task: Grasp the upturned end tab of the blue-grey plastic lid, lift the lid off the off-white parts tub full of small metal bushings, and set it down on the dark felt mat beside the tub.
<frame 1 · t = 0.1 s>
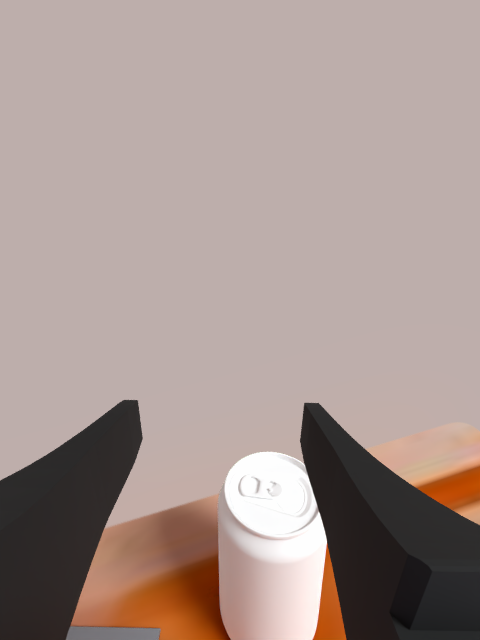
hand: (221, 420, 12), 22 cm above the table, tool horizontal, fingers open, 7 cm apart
beverage can: (267, 603, 23), on the table
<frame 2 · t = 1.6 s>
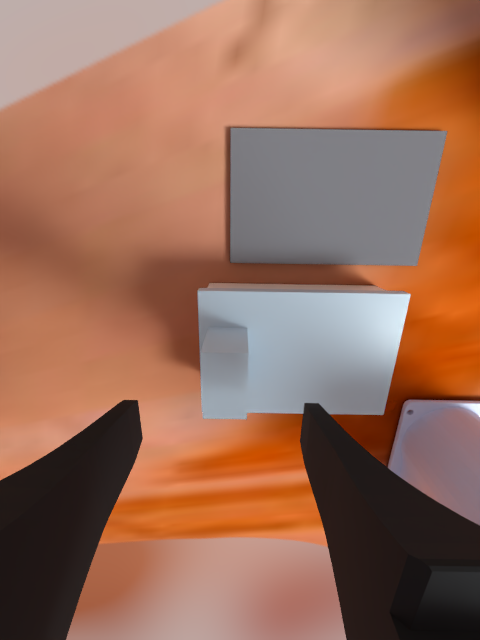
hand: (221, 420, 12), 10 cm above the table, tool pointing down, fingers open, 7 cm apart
mat: (329, 202, 18), on the table
tub: (288, 335, 21), on the table
lid: (295, 352, 18), point 3 cm above the table, touching tub
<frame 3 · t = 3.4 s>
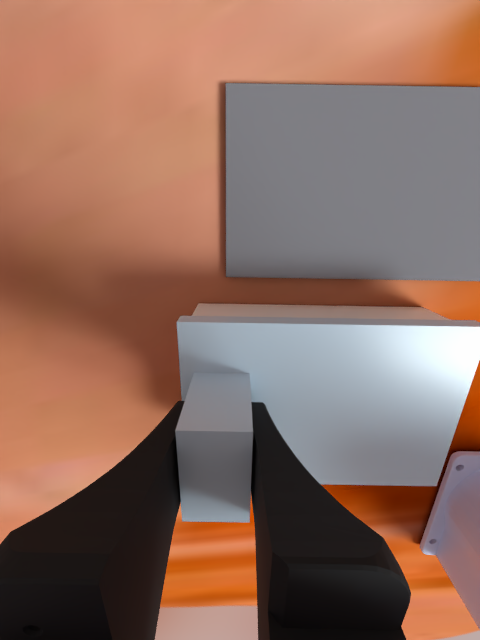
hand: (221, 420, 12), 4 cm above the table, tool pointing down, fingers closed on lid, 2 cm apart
mat: (364, 193, 13), on the table
tub: (303, 371, 16), on the table
lid: (316, 402, 13), point 3 cm above the table, touching gripper, tub
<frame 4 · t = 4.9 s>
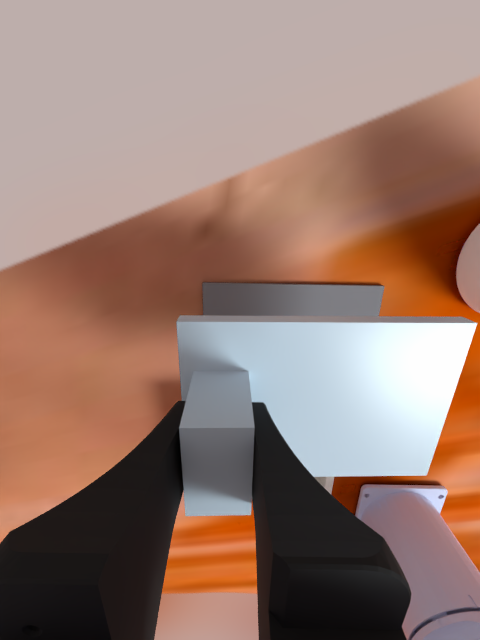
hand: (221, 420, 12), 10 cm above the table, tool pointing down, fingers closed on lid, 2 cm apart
mat: (288, 334, 21), on the table
lid: (312, 398, 14), point 8 cm above the table, touching gripper
when the fingers open (3 cm above the table, at t = 6.8 s): lid stays where it is, resting on mat.
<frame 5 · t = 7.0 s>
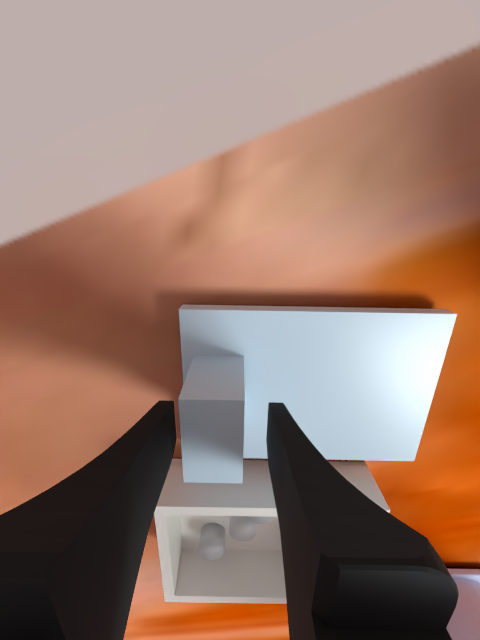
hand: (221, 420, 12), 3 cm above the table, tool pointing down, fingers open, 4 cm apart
tub: (263, 507, 18), on the table
lid: (305, 384, 15), resting on mat
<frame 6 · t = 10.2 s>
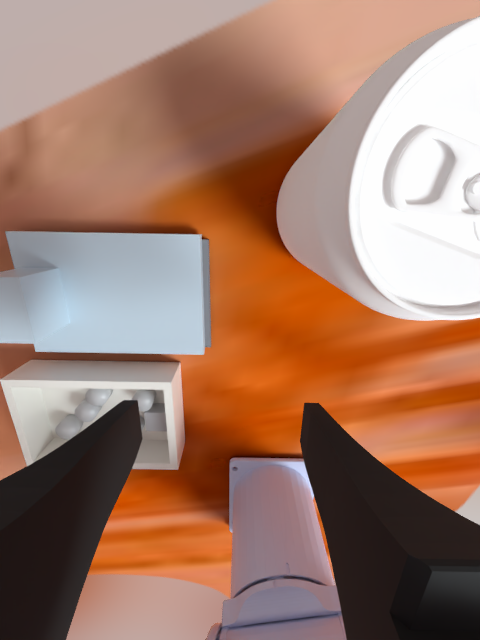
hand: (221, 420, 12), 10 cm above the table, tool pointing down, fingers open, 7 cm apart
mat: (121, 294, 20), on the table
beverage can: (334, 210, 18), on the table
tub: (112, 402, 23), on the table
lid: (116, 294, 20), resting on mat
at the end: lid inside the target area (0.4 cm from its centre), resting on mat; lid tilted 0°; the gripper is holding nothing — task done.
